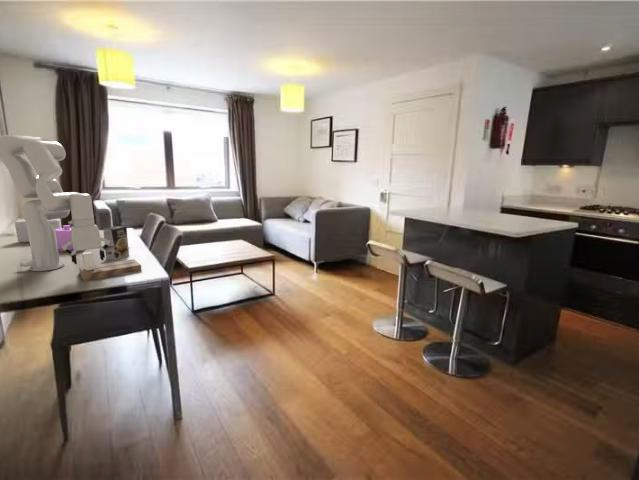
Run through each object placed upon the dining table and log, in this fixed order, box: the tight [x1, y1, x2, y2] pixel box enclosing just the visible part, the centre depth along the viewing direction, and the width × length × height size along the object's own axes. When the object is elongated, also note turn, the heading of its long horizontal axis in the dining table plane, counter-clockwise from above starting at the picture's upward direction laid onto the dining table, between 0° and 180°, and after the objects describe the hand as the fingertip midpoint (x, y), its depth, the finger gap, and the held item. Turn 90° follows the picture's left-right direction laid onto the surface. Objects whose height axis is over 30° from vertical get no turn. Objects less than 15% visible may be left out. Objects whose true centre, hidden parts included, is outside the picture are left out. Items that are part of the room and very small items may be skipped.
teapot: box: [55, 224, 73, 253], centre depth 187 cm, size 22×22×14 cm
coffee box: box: [102, 225, 130, 261], centre depth 172 cm, size 9×6×16 cm
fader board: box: [78, 258, 142, 282], centre depth 150 cm, size 22×12×3 cm, turn 133°
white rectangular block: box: [82, 251, 95, 271], centre depth 144 cm, size 3×4×7 cm
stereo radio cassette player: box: [14, 218, 63, 243], centre depth 201 cm, size 21×8×20 cm, turn 115°
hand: (89, 261), depth 144 cm, fingers open, 9 cm apart
